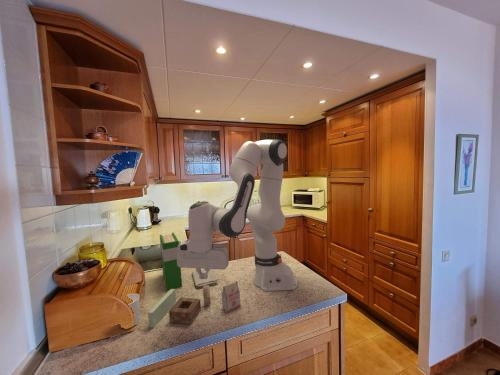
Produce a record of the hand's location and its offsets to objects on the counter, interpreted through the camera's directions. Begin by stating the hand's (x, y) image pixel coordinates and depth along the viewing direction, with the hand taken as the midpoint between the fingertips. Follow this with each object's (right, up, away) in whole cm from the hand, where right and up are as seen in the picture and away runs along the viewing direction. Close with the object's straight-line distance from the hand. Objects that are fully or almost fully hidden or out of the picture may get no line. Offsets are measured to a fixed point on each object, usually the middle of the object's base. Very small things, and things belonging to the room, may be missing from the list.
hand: (203, 278), depth 85 cm
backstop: (-18, -17, +5) cm, 25 cm away
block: (-8, -17, +3) cm, 19 cm away
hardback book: (-24, -15, +32) cm, 42 cm away
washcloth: (-6, -15, +32) cm, 36 cm away
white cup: (-29, -18, 0) cm, 34 cm away
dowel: (-1, -16, +10) cm, 18 cm away
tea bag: (+10, -16, +8) cm, 20 cm away
